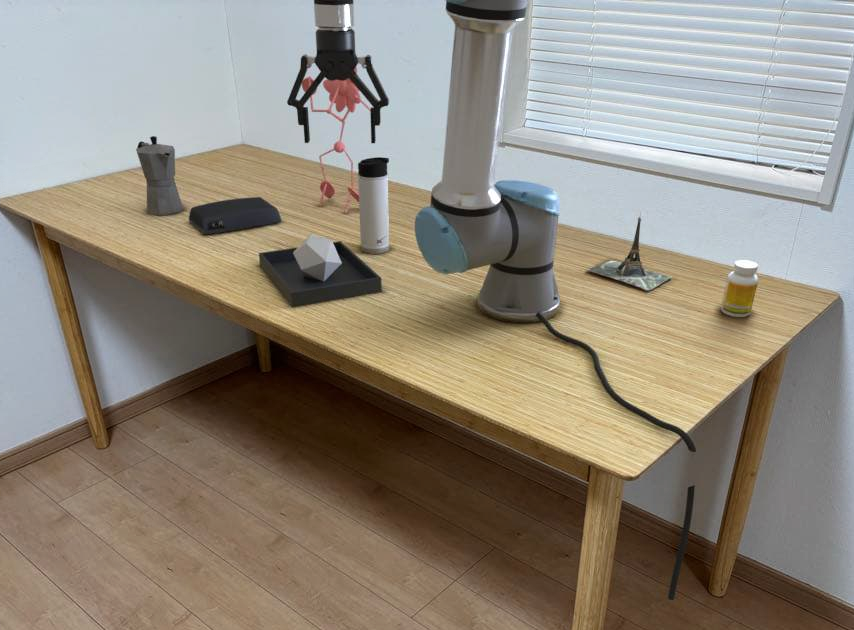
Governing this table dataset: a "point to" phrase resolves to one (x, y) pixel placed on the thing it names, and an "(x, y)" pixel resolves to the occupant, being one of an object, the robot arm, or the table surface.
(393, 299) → the table surface
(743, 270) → the supplement bottle
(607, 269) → the eiffel tower figurine
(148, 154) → the coffeepot
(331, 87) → the figurine
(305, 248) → the die
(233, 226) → the hard drive
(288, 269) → the black tray
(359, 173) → the travel mug
